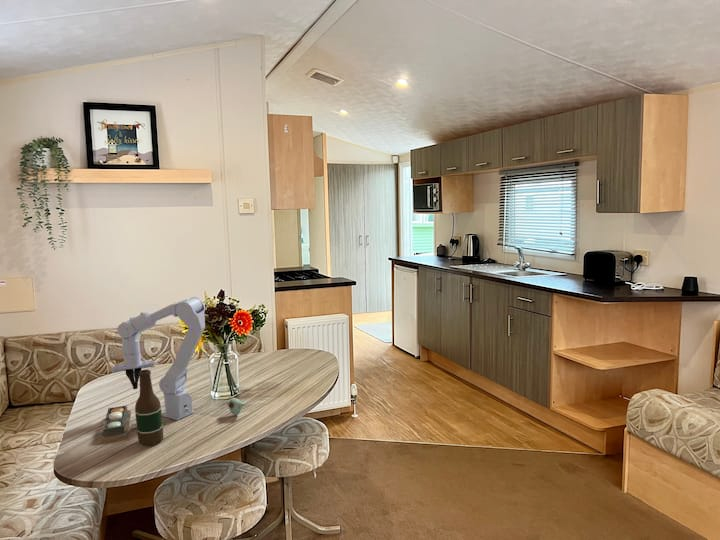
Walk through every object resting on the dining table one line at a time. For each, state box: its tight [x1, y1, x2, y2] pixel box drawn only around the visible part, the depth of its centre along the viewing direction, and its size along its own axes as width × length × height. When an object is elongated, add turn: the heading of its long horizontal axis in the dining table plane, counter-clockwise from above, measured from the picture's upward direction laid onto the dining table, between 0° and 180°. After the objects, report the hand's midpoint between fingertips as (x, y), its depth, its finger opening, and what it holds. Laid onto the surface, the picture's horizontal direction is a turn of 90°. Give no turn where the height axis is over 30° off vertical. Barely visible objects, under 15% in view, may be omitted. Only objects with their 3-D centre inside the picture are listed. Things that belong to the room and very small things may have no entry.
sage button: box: [107, 422, 121, 428], centre depth 182 cm, size 4×4×2 cm
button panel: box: [100, 404, 132, 444], centre depth 189 cm, size 22×8×4 cm, turn 20°
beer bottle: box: [134, 369, 164, 447], centre depth 176 cm, size 8×8×24 cm
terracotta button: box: [111, 408, 124, 413], centre depth 194 cm, size 4×4×2 cm
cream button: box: [109, 412, 122, 421], centre depth 188 cm, size 4×4×2 cm
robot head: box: [226, 397, 246, 416], centre depth 195 cm, size 8×4×7 cm, turn 62°
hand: (135, 388), depth 200 cm, fingers closed
